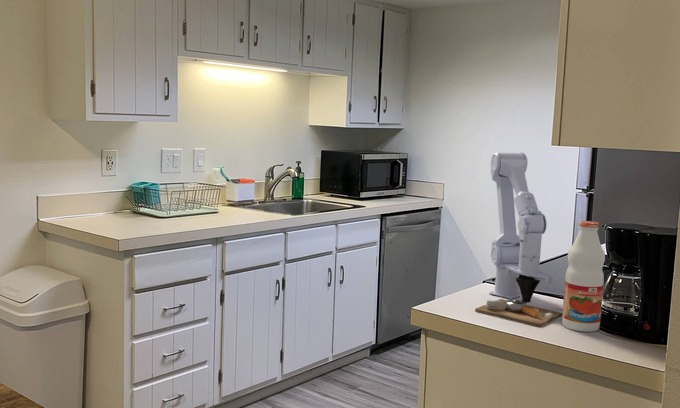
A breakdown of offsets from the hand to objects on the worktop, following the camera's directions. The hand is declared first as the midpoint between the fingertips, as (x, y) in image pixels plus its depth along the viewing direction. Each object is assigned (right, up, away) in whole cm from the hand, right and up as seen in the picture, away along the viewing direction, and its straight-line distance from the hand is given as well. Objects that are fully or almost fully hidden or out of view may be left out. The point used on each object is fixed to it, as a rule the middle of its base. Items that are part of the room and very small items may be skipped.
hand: (526, 302), depth 188 cm
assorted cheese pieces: (-4, -2, -6) cm, 7 cm away
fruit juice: (+10, -4, -16) cm, 19 cm away
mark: (+3, -3, -11) cm, 12 cm away
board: (-4, -2, -5) cm, 7 cm away
